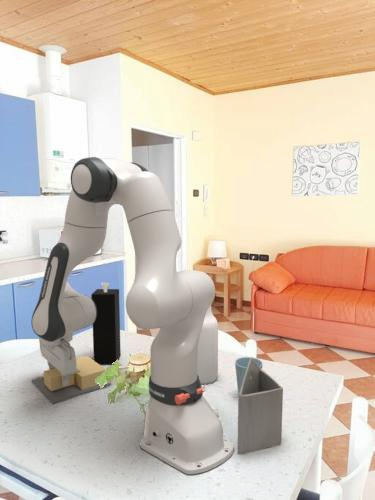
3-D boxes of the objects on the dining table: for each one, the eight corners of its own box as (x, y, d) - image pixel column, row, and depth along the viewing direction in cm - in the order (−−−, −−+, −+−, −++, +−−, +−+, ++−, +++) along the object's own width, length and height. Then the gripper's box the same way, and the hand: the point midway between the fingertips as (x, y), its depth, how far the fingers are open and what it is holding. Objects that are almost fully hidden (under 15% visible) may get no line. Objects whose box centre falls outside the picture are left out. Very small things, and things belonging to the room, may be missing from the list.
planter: (272, 464, 84) (274, 377, 82) (236, 453, 88) (238, 370, 86) (288, 425, 99) (291, 351, 96) (257, 417, 102) (259, 345, 100)
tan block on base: (111, 385, 120) (111, 371, 120) (52, 404, 109) (51, 388, 109) (86, 366, 134) (85, 353, 134) (31, 381, 123) (31, 367, 123)
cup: (267, 400, 111) (268, 364, 110) (244, 406, 108) (244, 369, 107) (252, 388, 118) (252, 355, 117) (230, 394, 115) (230, 359, 114)
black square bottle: (116, 365, 135) (114, 284, 132) (93, 364, 136) (90, 284, 132) (120, 356, 143) (119, 279, 140) (99, 356, 143) (96, 279, 140)
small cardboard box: (74, 384, 119) (73, 371, 119) (51, 391, 115) (50, 378, 115) (66, 377, 124) (66, 365, 124) (44, 383, 120) (43, 371, 119)
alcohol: (208, 387, 119) (209, 289, 115) (184, 380, 124) (184, 286, 120) (222, 376, 126) (223, 284, 123) (199, 370, 131) (199, 281, 127)
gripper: (81, 342, 112) (83, 388, 113) (55, 324, 127) (56, 365, 129) (59, 347, 108) (61, 395, 109) (35, 328, 124) (37, 370, 125)
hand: (58, 379), depth 119 cm, fingers open, 8 cm apart
